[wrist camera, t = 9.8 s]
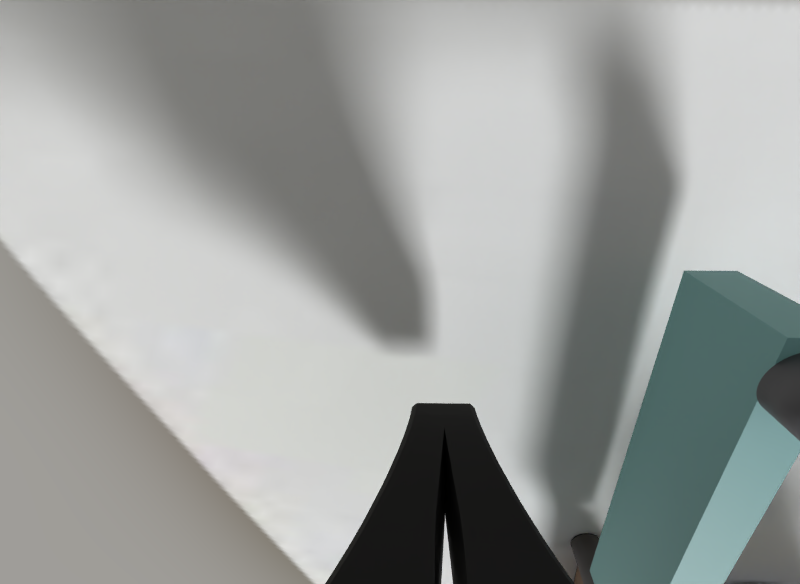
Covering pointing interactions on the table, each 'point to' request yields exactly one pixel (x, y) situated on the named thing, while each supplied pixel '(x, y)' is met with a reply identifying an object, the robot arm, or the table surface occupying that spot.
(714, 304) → the swing gate
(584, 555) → the brown frame
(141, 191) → the table surface
